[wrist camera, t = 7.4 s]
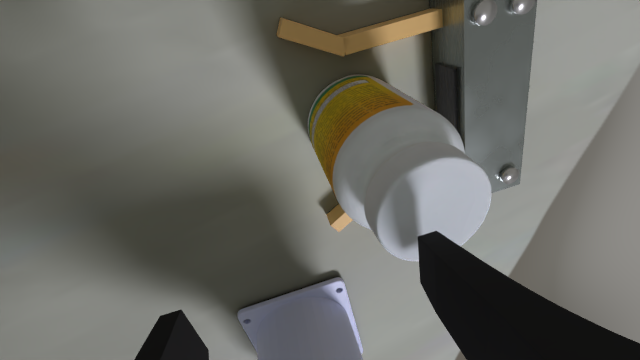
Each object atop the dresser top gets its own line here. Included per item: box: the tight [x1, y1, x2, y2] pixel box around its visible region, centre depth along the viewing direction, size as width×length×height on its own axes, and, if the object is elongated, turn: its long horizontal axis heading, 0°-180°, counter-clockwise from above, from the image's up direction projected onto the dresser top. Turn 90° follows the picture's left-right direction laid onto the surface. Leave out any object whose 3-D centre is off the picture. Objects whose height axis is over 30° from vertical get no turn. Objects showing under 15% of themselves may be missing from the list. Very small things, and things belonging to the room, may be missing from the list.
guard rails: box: [276, 9, 443, 232], centre depth 18 cm, size 12×8×1 cm, turn 13°
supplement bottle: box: [308, 74, 491, 261], centre depth 15 cm, size 5×5×10 cm
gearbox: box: [429, 0, 537, 193], centre depth 17 cm, size 13×4×3 cm, turn 13°
